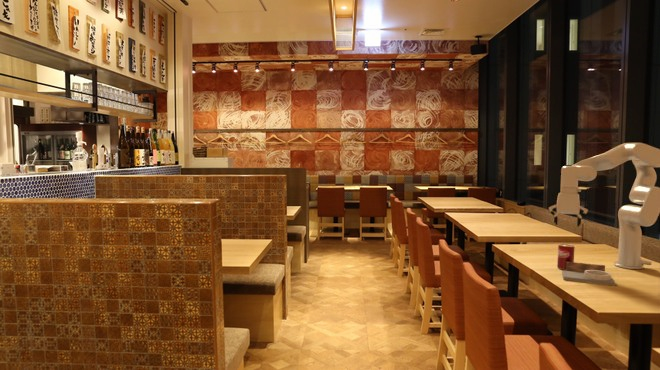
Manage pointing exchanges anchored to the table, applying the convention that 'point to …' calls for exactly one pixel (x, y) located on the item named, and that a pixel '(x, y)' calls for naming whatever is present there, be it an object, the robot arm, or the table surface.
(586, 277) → the board
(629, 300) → the table surface
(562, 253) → the soda can
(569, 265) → the rail
